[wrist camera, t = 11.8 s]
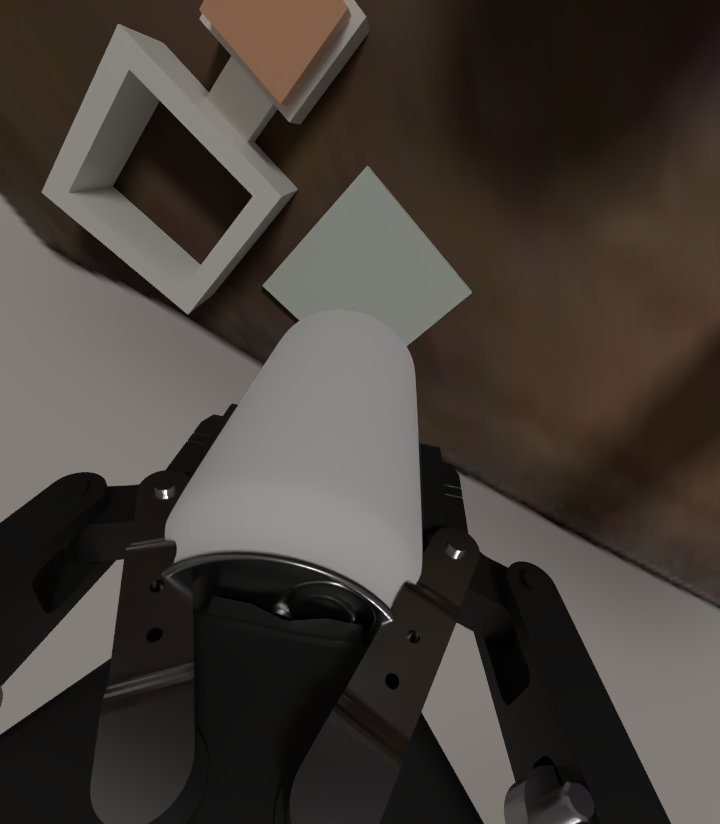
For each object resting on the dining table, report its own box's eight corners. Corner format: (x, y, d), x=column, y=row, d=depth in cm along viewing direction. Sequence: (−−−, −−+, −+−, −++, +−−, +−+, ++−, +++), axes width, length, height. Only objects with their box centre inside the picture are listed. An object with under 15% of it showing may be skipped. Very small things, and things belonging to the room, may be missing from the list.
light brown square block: (357, 30, 22) (348, 7, 18) (298, 110, 24) (280, 104, 21) (288, -64, 20) (263, -110, 17) (232, 31, 23) (199, 9, 19)
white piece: (396, 67, 23) (395, 53, 19) (213, 294, 31) (188, 314, 28) (253, -131, 19) (218, -196, 16) (89, 185, 28) (41, 192, 24)
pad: (470, 290, 30) (472, 292, 29) (364, 377, 34) (364, 381, 34) (367, 165, 26) (367, 166, 25) (264, 283, 31) (262, 285, 30)
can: (441, 393, 19) (483, 680, 9) (331, 449, 21) (264, 722, 11) (362, 274, 16) (288, 490, 6) (246, 354, 18) (59, 600, 8)
